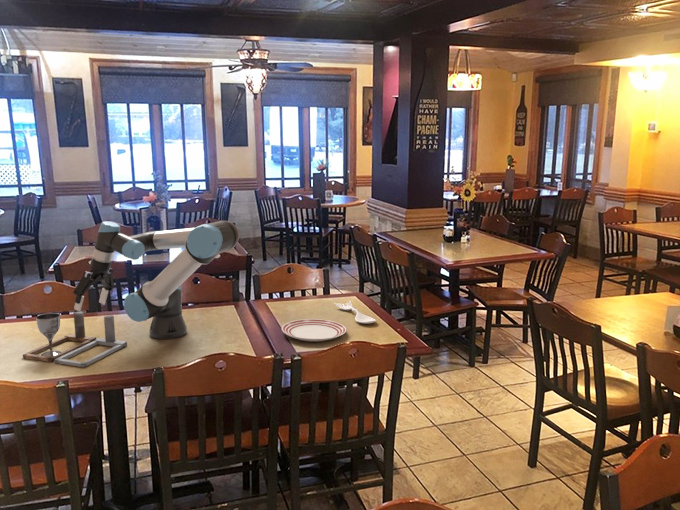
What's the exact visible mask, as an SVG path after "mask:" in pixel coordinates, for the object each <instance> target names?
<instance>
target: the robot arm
mask: <svg viewBox="0 0 680 510" xmlns="http://www.w3.org/2000/svg"><path fill="white" fill-rule="evenodd" d="M239 240H240V232H239V229H238V227H237V226H236V224H235V223H233V222H231V221H228V220H218V221H214V222H210V223H204V224H200V225H197V226H196V227H188V228H177V229H176V228H175V229H168V230H167V229H166V230H151V231H146V232H143V233H139V234H133V235H127V234H125V233H123V232H122V231H121V225H120V224H118V223H116V222H113V221H107V220H106V221H102V222H101V223H100V225H99V228H98V230H97V236H96V242H95V245H94V248H93V249H94V250H93V252H92V257H91V259H90V264H89V267H90V268H91V269H90V271H87V270H85V271H84V272H83V275H82V277H81V278H80V280H79V282H78V284H77V285H76V286H75V288H74V290H73V291H72V294H73V295H75V301H74V306H73V307H74V308H73V309H74V310H75V311H76V312H82V311H81V310H82V308H83V307H82V306H83V303H84V298H85V296H84V295H85V293H87V291H88V290H89V289H90V288H91V287H92V285H93V284H95V283H96V282H101V284H102V285H103V287H102V289H101V292H100V296H99V300H98V304H99V303H100V304H102V305H104V306H105V305H106V302H107V298H108V296H109V292H110V291H113V288H114V287H115V284H114V282H115V281H114V276H113V272H114V269H113V268H111V267H112V261H113V260H114V255H115V252H116V253H118V254H119V255H122V256H124V257H125V258H128V259H131V260H132V261H133V260H138V259H140V258H141V257H142V256H143V255H144V253H145V252H149V251H157V250H158V251H159V250H168V249H181V248H184V249H183V250H181V252H179V253H178V255H177V256H176V257H175V258H174V259H173V260H172V261H170V263H169V264H168V265H167V266H166V267H165V268H163V270H161V272H160V273H159V274H158V275H157V276H156V277H155V278H154V279H153V280H151V281H146V282H145V283H143V285H141V287H139V288H138V289H137V290H136V291H134V292H130V293H129V294H127V296H125V298H124V301H123V305H124V307H123V308H124V310H125V311H124V312H125V313H126V315H127V316H128V317H129V318H130V319H131V320H132V321H134V322H137V323H140V322H146V321H148V320H149V319H151V318H152V319H151V323H150V326H149V337H151V338H153V339H158V340H171V339H172V340H173V339H177V338H180V337H183V336H185V335H187V332H188V331H187V330H188V327H187V324H186V322H185V319H184V316H183V307H182V306H183V303H182V286H181V285H183V283H185V282H186V281H187V279H188V278H190V277H191V276H192V275H193V274H194V273H195V272H196V271H197V270H198V269H199V268H200V267H201V266H202V265H208V264H211V262H212V261H213V260H214V259H215V258H216V257H217V256H219V255H220V254H222V253H225V252H228V251H230V250H232V249H233V248H235V247H236V246H237V245H238V242H239Z"/></svg>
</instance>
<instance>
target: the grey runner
mask: <svg viewBox="0 0 680 510" xmlns="http://www.w3.org/2000/svg"><path fill="white" fill-rule="evenodd" d="M103 322H104V336H105V338H104V337H98V338H96V340H94V341H93V342H91V343H89V344H87V345H84V346H82V347H80V348H78V349H76V350H74V351H72V352H69V353H67V354H65V355H63V356H61V357H59V358H57V359H55V360H54V361H53V362H54V363H55V364H60V365H61V364H62V365H66V366H71V367H72V366H73V367H80V368H85V367H88V366H90V365H92V364H93V363H95V362H98V361H99V360H101V359H103V358H106V357H107V356H109V355H110V354H112V353H115V352H116V351H118V350H120V349H122V348H124V347H126V346H128V341H126V340H125V341H124V340H118V339H116V332H115V331H116V329H115V316H114V315H111V314H110V315H104V316H103ZM97 345H100V346H106V347H107V346H108V347H110V348H108V349H106V350H104V351H103V352H100V353H98V354H97V355H95V356H93V357H91V358H88V359H87V360H85V361H84V362H83V361H77V360H73V359H72V360H71V358H72V357H74V356H76V355H78V354H81V353H83V352H84V351H87V350H89V349H91V348H93V347H95V346H97Z"/></svg>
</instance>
